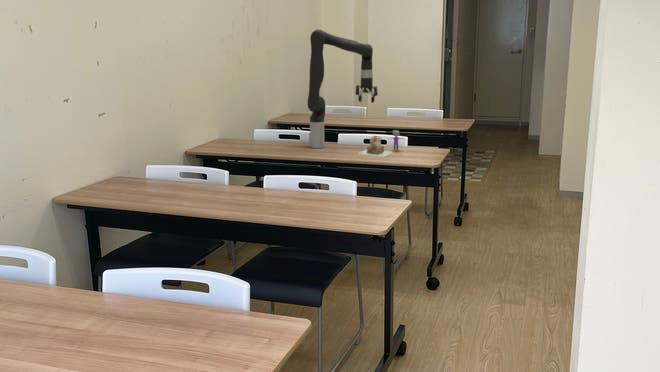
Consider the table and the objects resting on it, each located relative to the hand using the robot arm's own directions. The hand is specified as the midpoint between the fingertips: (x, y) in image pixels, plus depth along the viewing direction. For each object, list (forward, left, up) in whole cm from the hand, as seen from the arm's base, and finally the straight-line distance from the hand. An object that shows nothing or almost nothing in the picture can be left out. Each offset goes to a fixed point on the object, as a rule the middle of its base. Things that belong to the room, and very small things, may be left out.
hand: (366, 102), depth 397 cm
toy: (+23, -5, -30) cm, 38 cm away
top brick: (+13, -14, -25) cm, 31 cm away
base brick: (+13, -14, -29) cm, 34 cm away
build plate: (+13, -14, -30) cm, 35 cm away
